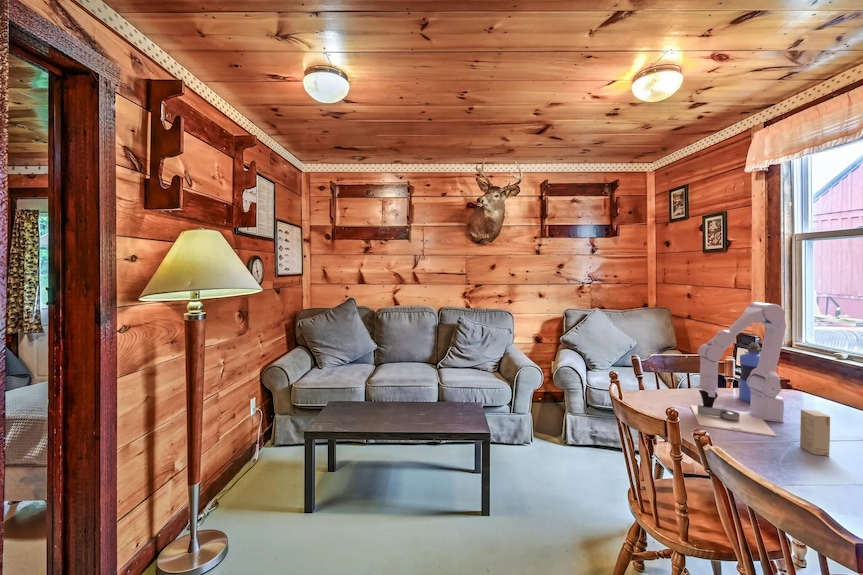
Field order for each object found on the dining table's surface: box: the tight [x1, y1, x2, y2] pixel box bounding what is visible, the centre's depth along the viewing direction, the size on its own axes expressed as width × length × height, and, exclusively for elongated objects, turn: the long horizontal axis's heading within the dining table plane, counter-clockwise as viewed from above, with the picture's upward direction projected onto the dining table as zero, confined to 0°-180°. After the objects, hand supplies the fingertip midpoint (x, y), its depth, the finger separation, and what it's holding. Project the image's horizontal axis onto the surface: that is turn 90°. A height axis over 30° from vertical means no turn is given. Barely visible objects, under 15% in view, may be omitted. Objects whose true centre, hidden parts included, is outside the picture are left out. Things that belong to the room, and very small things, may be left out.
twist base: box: [690, 404, 777, 438], centre depth 149 cm, size 22×22×1 cm
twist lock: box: [697, 404, 740, 421], centre depth 150 cm, size 13×6×3 cm, turn 64°
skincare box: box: [799, 409, 831, 456], centre depth 123 cm, size 6×4×12 cm
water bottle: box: [738, 342, 761, 404], centre depth 170 cm, size 9×9×25 cm
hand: (707, 409), depth 153 cm, fingers closed
